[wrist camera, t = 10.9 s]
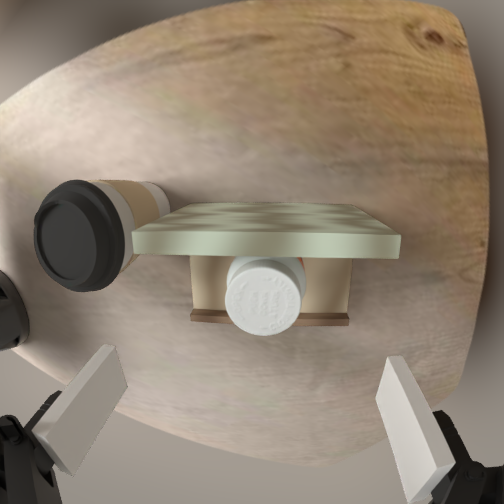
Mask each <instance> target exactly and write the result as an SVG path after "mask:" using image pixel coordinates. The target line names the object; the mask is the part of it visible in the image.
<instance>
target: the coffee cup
mask: <svg viewBox="0 0 504 504" xmlns="http://www.w3.org/2000/svg"><path fill="white" fill-rule="evenodd" d="M169 213H170V204H169V201H168V198H167V196H166V194H165V193H164V192H163V190H162V189H161V188H159V187H158V186H157V185H155V184H153V183H150V182H134V181H128V180H89V181H83V180H70V181H67V182H64V183H62V184H61V185H59V186H58V187H57V188H55V189H53V190H52V191H51V192H50V193H49V194H48V195H47V196H46V197H45V199H44V200H43V202H42V204H41V206H40V208H39V210H38V212H37V213H36V215H35V219H34V224H35V228H34V245H35V250H36V254H37V257H38V259H39V261H40V264H41V265H42V267H43V269H44V270H45V271H46V273H47V274H48V275H49V276H50V277H51V278H52V279H53V280H55V281H56V282H58V283H59V284H60V285H62V286H64V287H65V288H67V289H70V290H73V291H77V292H88V291H97V290H101V289H103V288H105V287H107V286H108V285H109V284H111V283H112V282H113V281H114V280H115V278H116V277H117V275H118V274H119V273H121V272H122V271H124V270H125V269H126V268H127V267H128V266H129V265H130V264H131V263H132V262H133V261H134V260H135V259H136V258H137V257H138V256H139V255H140V254H134V250H133V241H132V231H134V230H136V229H138V228H140V227H142V226H144V225H146V224H148V223H150V222H152V221H155V220H157V219H159V218H161V217H163V216H165V215H167V214H169Z"/></svg>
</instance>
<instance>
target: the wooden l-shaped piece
mask: <svg viewBox="0 0 504 504" xmlns="http://www.w3.org/2000/svg"><path fill="white" fill-rule="evenodd" d="M132 241H133V250H134V254H161V255H189V257H190V270H191V283H192V294H193V304H194V309H193V311H192V313H191V314H190V317H191V321H196V322H211V323H228V324H235V323H234V322H233V321H232V320H231V318H230V317H229V315H228V313H227V310H226V306H225V295H226V291H227V275H228V271H229V268H230V265H231V263H232V262H233V260H234V258H235V256H258V257H302V258H303V263H304V269H305V275H306V290H305V294H304V297H303V299H302V305H301V310H300V313H299V315H298V317H297V319H296V320H295V322H294V323H293V324H292V325H291V326H348V325H349V317H348V314H347V307H348V299H349V291H350V282H351V273H352V262H353V258H378V259H399V251H400V243H401V235H400V234H398V233H397V232H395V231H394V230H392V229H391V228H389V227H387V226H386V225H384V224H383V223H381V222H379V221H378V220H376V219H375V218H373V217H371V216H370V215H368V214H366V213H365V212H363V211H361V210H360V209H358V208H356V207H355V206H353V205H344V204H314V203H191V204H189V205H187V206H185V207H183V208H180V209H178V210H176V211H174V212H172V213H169V214H167V215H165V216H163V217H161V218H159V219H157V220H155V221H152V222H150V223H148V224H146V225H144V226H142V227H140V228H138V229H136V230H134V231H132Z"/></svg>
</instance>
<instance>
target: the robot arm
mask: <svg viewBox="0 0 504 504" xmlns="http://www.w3.org/2000/svg"><path fill="white" fill-rule="evenodd" d="M28 334H29V322H28V317H27V313H26V310H25V307H24V304H23V302H22V300H21V298H20V296H19V294H18V292H17V290H16V288H15V287H14V285H13V284H12V282H11V281H10V280H9V279H8V278H7V276H6V275H5V274H3V273H2V272H1V271H0V351H3V350H7V349H11V348H14V347H17V346H19V345H20V344H21V343H23V342H24V341H25V340H26V339H27V337H28ZM126 389H127V383H126V380H125V377H124V374H123V371H122V367H121V364H120V360H119V357H118V353H117V350H116V346H112V345H106V344H103V345H102V346H101V347H100V348H99V350H98V351H97V352H96V353H95V354H94V355H93V356H92V358H91V359H90V360H89V361H88V362H87V363H86V365H85V366H84V367H83V368H82V369H81V370H80V372H79V373H78V374H77V375H76V376H75V377H74V379H73V380H72V381H71V382H70V383H69V385H68V386H67V387H66V388H65V389H64V391H63V392H62V391H57V392H55V393H54V394H52V395H50V397H49V398H48V399H47V400H46V401H45V402H44V404H43V405H42V406H41V407H40V410H38V411H37V412H36V413H35V414H34V416H33V417H32V418H31V419H30V421H29V422H28V423H27V424H26V426H25V427H24V428H23V427H22V425H21V424H20V422H19V421H18V419H17V418H16V417H15V416H13V415H5V416H2V417H0V504H62V500H61V497H60V493H59V489H58V486H57V481H56V477H55V473H54V470H53V468H52V466H53V465H54V463H55V464H56V466H57V467H58V468H59V469H60V470H61V471H62V472H65V473H67V474H69V475H71V476H75V474H76V472H77V470H78V469H79V467H80V465H81V463H82V462H83V460H84V458H85V456H86V455H87V453H88V451H89V450H90V448H91V446H92V445H93V443H94V441H95V439H96V438H97V436H98V434H99V433H100V431H101V429H102V428H103V426H104V424H105V423H106V421H107V419H108V418H109V416H110V414H111V413H112V411H113V410H114V408H115V406H116V405H117V403H118V402H119V400H120V398H121V397H122V395H123V393H124V392H125V390H126ZM375 399H376V402H377V405H378V408H379V411H380V414H381V417H382V420H383V423H384V426H385V429H386V432H387V435H388V438H389V441H390V444H391V447H392V451H393V454H394V457H395V461H396V464H397V467H398V471H399V474H400V478H401V481H402V485H403V489H404V492H405V496H406V500H407V503H408V504H410V503H413V502H417V501H421V500H424V499H426V497H427V496H428V495H429V494H430V493H431V494H432V497H433V499H432V500H431V501H430V502H429V503H428V504H504V465H503V466H499V467H488V468H487V467H484V466H483V465H482V464H481V463H479V462H477V461H472V459H471V458H470V456H469V454H468V452H467V450H466V447H465V446H464V444H463V441H462V439H461V438H460V436H459V435H458V432H457V430H456V428H454V424H453V422H452V420H451V419H450V417H449V416H448V415H447V414H446V413H445V412H443V411H442V410H440V411H435V412H432V411H431V409H430V407H429V405H428V403H427V401H426V399H425V397H424V395H423V393H422V391H421V390H420V388H419V386H418V384H417V382H416V380H415V378H414V376H413V375H412V373H411V371H410V369H409V367H408V366H407V364H406V362H405V360H404V358H403V357H402V355H400V356H389V357H387V360H386V364H385V368H384V371H383V375H382V378H381V382H380V385H379V388H378V391H377V395H376V398H375Z"/></svg>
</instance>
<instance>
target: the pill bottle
mask: <svg viewBox="0 0 504 504" xmlns="http://www.w3.org/2000/svg"><path fill="white" fill-rule="evenodd" d="M305 290H306V275H305V269H304V263H303V258H302V257H258V256H235V258H234V260H233V262H232V263H231V265H230V268H229V271H228V275H227V291H226V295H225V306H226V310H227V313H228V315H229V317H230V318H231V320H232V321H233V322H234V323H235V325H237V326H238V327H239V328H241V329H242V330H244V331H246V332H248V333H250V334H254V335H259V336H269V335H274V334H278V333H280V332H283V331H284V330H286V329H287V328H289V327H290V326H291V325H292V324H293V323H294V322H295V320H296V319H297V317H298V315H299V313H300V310H301V305H302V299H303V297H304V294H305Z"/></svg>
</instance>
